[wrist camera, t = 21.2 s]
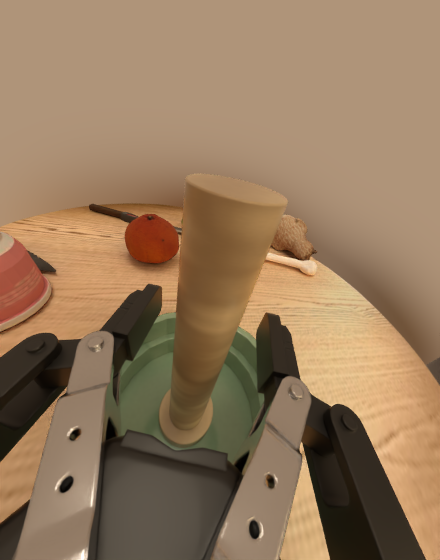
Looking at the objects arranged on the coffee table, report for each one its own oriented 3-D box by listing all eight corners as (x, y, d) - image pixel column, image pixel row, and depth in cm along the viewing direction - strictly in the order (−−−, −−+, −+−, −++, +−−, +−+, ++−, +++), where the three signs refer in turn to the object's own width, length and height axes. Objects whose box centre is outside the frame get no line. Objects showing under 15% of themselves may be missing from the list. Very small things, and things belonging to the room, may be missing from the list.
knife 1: (-63, 230, 26) (-14, 219, 29) (-50, 244, 27) (-5, 231, 31) (9, 282, 22) (55, 262, 25) (19, 294, 23) (61, 274, 27)
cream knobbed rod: (189, 248, 39) (191, 236, 37) (194, 239, 42) (195, 228, 40) (315, 279, 40) (323, 269, 38) (311, 268, 43) (317, 258, 41)
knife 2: (209, 238, 45) (96, 208, 46) (210, 232, 44) (94, 200, 45) (206, 244, 43) (87, 212, 44) (207, 237, 42) (85, 204, 43)
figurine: (267, 242, 55) (296, 276, 46) (254, 221, 48) (284, 257, 39) (294, 222, 53) (329, 254, 43) (284, 198, 46) (324, 229, 36)
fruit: (131, 275, 29) (124, 228, 24) (125, 248, 35) (119, 205, 30) (184, 269, 33) (188, 227, 28) (171, 245, 39) (173, 207, 34)
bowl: (270, 370, 21) (290, 343, 18) (251, 627, 10) (298, 684, 6) (158, 326, 23) (157, 293, 19) (28, 497, 11) (-26, 488, 8)
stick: (217, 397, 17) (310, 195, 6) (199, 458, 14) (338, 240, 3) (174, 379, 18) (195, 164, 7) (147, 433, 14) (103, 171, 3)
